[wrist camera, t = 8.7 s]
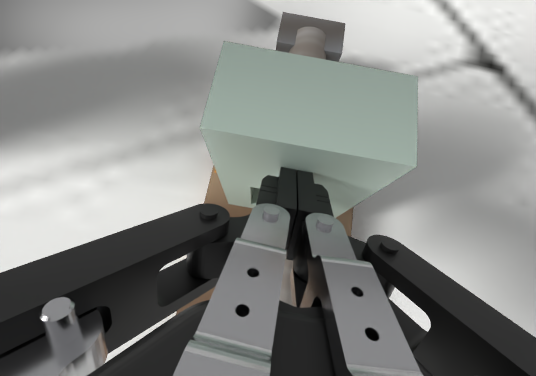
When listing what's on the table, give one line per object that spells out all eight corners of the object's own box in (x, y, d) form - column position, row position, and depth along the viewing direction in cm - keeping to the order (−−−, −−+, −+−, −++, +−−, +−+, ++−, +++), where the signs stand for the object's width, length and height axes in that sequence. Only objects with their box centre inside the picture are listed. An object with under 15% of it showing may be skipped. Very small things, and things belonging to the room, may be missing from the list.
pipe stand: (319, 517, 18) (362, 678, 11) (138, 484, 18) (64, 623, 11) (358, 84, 28) (393, 23, 21) (242, 63, 28) (238, -6, 21)
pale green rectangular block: (328, 222, 21) (416, 166, 10) (228, 203, 21) (199, 127, 10) (333, 174, 22) (417, 76, 11) (238, 157, 22) (223, 41, 11)
